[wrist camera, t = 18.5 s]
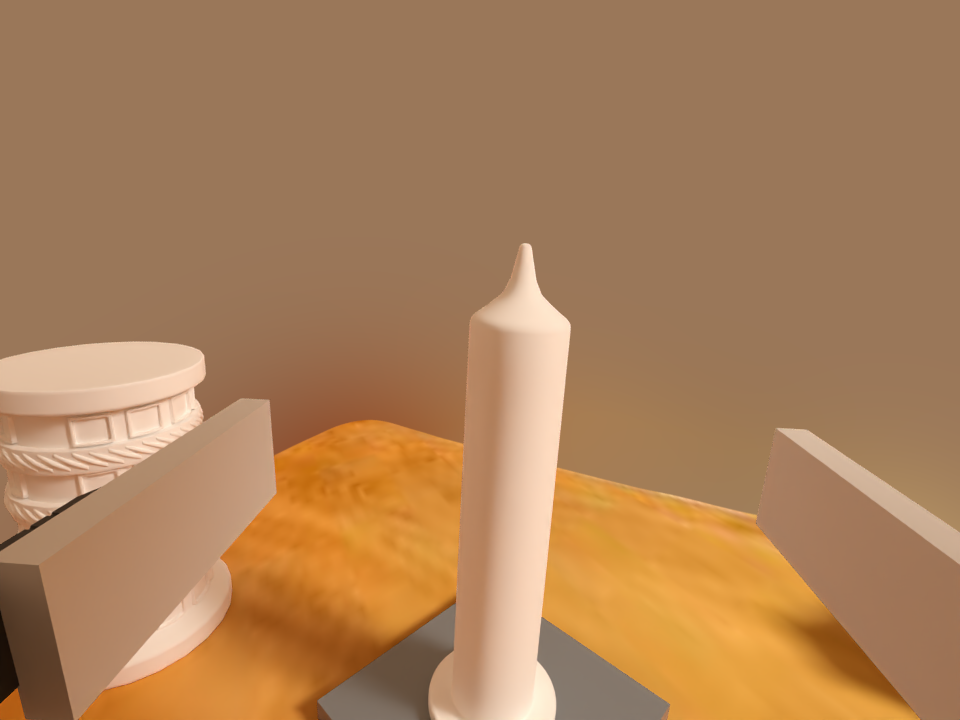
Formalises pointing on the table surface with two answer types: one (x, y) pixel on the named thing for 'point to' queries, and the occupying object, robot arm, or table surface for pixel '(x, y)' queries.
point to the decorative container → (105, 452)
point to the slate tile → (411, 663)
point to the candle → (506, 507)
